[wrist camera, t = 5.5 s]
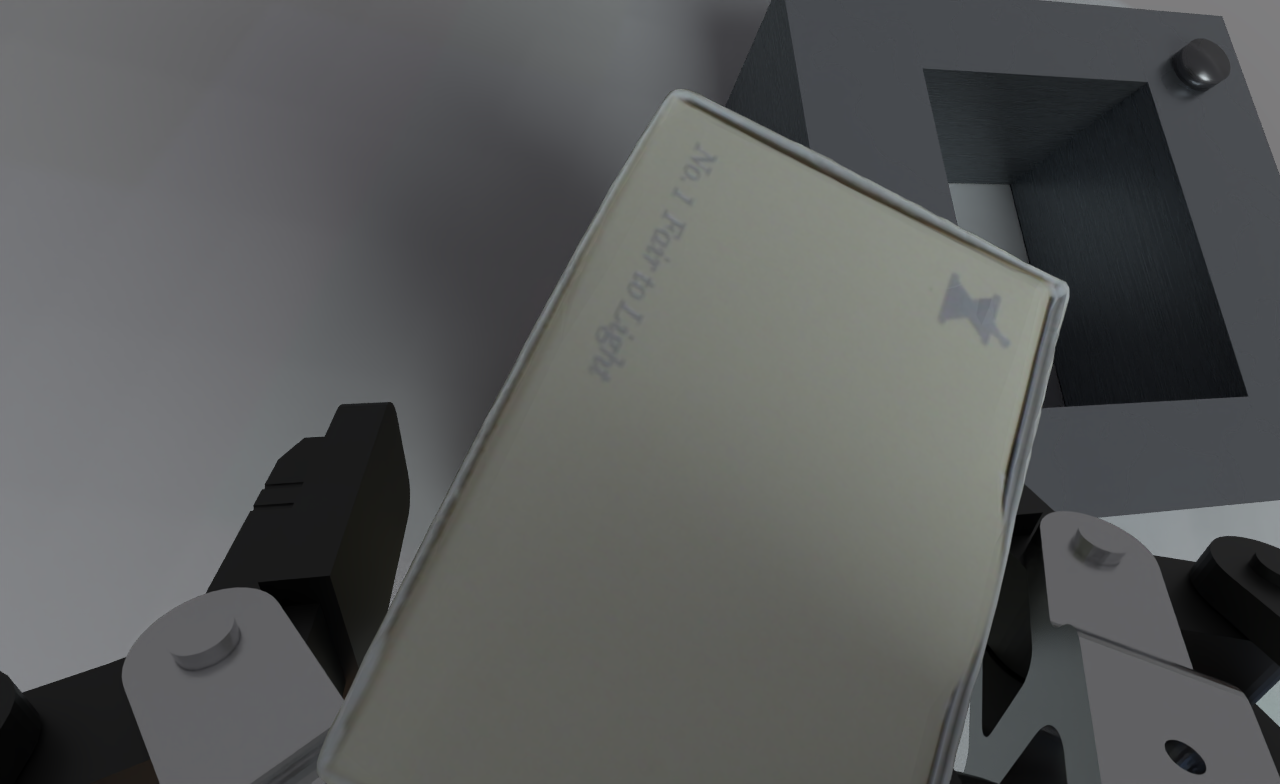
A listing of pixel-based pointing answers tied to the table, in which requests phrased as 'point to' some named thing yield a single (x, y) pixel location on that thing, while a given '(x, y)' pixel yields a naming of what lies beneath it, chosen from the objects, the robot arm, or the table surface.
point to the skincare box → (724, 493)
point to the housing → (1077, 211)
